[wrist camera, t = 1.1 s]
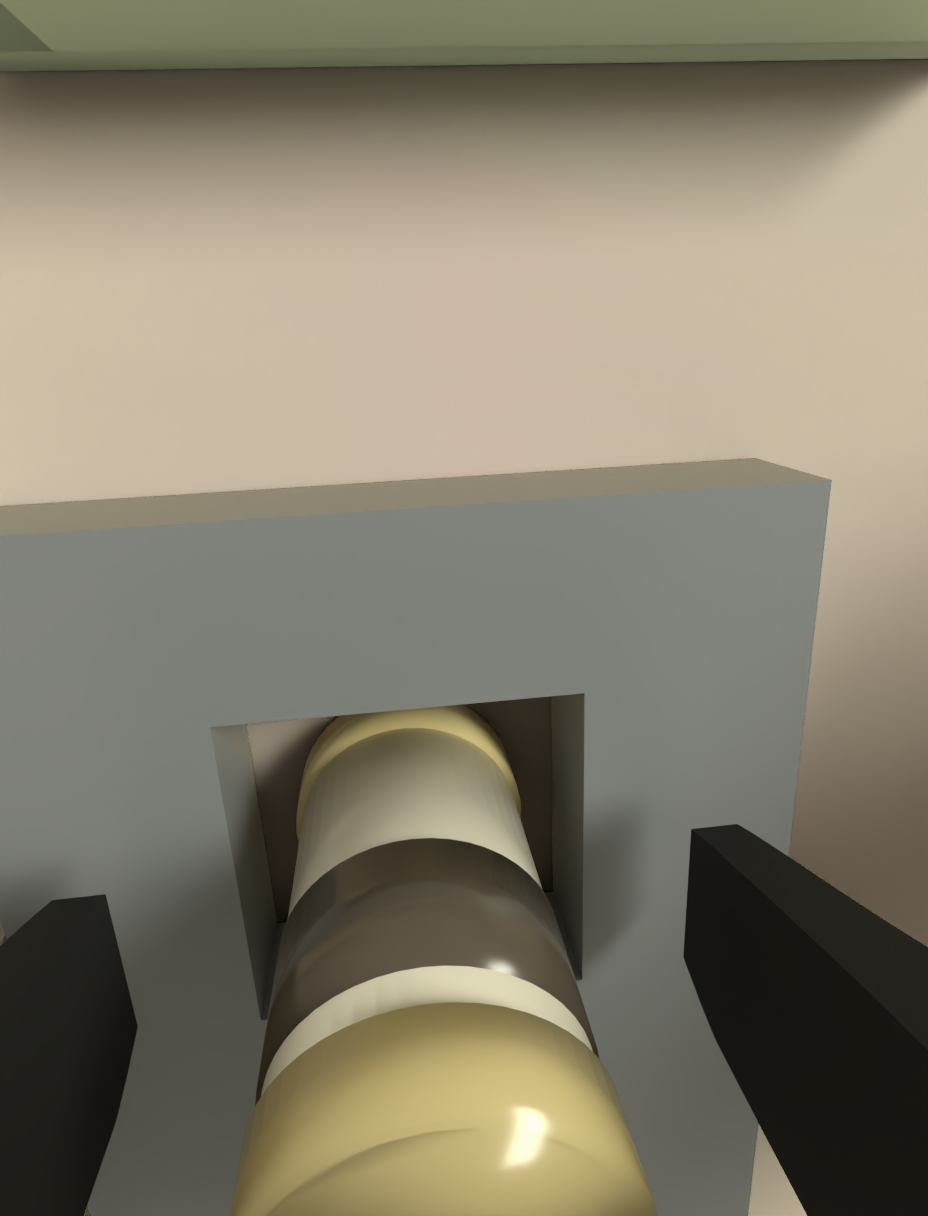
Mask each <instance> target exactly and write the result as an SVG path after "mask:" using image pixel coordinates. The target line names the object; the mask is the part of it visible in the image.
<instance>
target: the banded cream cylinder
mask: <svg viewBox="0 0 928 1216" xmlns="http://www.w3.org/2000/svg"><path fill="white" fill-rule="evenodd" d="M296 830H297V838H298V842H299V847H298V854H297V860H296V867H295V874H294V880H293V887H292V894H291V900H290V907H289V913H288V920H287V922H286V924H285V927H284V929H283V932H282V936H281V940H280V944H279V950H278V956H277V962H276V969H275V975H274V981H273V988H272V994H271V1000H270V1007H269V1013H268V1019H267V1026H266V1032H265V1038H264V1045H263V1051H262V1057H261V1064H260V1070H259V1076H258V1083H257V1089H256V1100H255V1108H254V1110H253V1112H252V1114H251V1116H250V1119H249V1121H248V1123H247V1126H246V1130H245V1134H244V1137H243V1141H242V1146H241V1152H240V1158H239V1164H238V1170H237V1176H236V1182H235V1188H234V1194H233V1200H232V1206H231V1212H230V1216H657V1212H656V1208H655V1205H654V1202H653V1199H652V1196H651V1193H650V1190H649V1187H648V1184H647V1181H646V1178H645V1175H644V1172H643V1169H642V1166H641V1163H640V1160H639V1157H638V1153H637V1150H636V1147H635V1144H634V1141H633V1138H632V1135H631V1132H630V1129H629V1126H628V1123H627V1120H626V1117H625V1114H624V1111H623V1108H622V1105H621V1102H620V1099H619V1096H618V1093H617V1090H616V1087H615V1085H614V1083H613V1081H612V1078H611V1076H610V1074H609V1072H608V1071H607V1069H606V1068H605V1067H604V1065H603V1064H602V1062H601V1061H600V1058H599V1054H598V1050H597V1046H596V1042H595V1039H594V1036H593V1033H592V1030H591V1027H590V1023H589V1020H588V1017H587V1014H586V1011H585V1008H584V1005H583V1002H582V998H581V995H580V992H579V989H578V986H577V983H576V980H575V977H574V973H573V970H572V967H571V964H570V961H569V958H568V955H567V952H566V948H565V945H564V942H563V939H562V936H561V933H560V930H559V927H558V923H557V920H556V917H555V914H554V911H553V909H552V907H551V904H550V902H549V900H548V898H547V896H546V895H545V893H544V892H543V890H542V887H541V884H540V880H539V877H538V874H537V871H536V868H535V864H534V861H533V858H532V855H531V852H530V848H529V845H528V842H527V839H526V836H525V832H524V829H523V826H522V823H521V801H520V796H519V792H518V788H517V785H516V782H515V779H514V775H513V772H512V769H511V766H510V763H509V760H508V757H507V754H506V752H505V749H504V747H503V745H502V742H501V741H500V739H499V737H498V736H497V734H496V733H495V731H494V730H493V729H492V728H491V726H490V725H489V724H488V723H487V722H486V721H485V720H484V719H483V718H482V717H481V716H479V715H478V714H477V713H476V712H474V711H473V710H471V709H470V708H468V707H467V706H465V705H463V704H461V705H450V706H439V707H428V708H417V709H406V710H395V711H384V712H373V713H363V714H352V715H341V716H339V717H337V718H336V719H335V720H334V721H333V722H332V723H331V724H330V725H329V726H328V727H327V728H326V729H325V730H324V731H323V732H322V734H321V735H320V736H319V737H318V739H317V740H316V742H315V744H314V745H313V747H312V749H311V751H310V753H309V756H308V758H307V760H306V764H305V768H304V772H303V777H302V783H301V789H300V795H299V801H298V808H297V817H296Z"/></svg>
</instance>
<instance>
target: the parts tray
mask: <svg viewBox="0 0 928 1216" xmlns="http://www.w3.org/2000/svg"><path fill="white" fill-rule="evenodd" d="M861 59H928V0H0V71H2V72H3V71H74V70H146V69H217V68H289V67H360V66H432V65H503V64H575V63H646V62H718V61H789V60H861Z"/></svg>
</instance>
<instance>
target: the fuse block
mask: <svg viewBox="0 0 928 1216" xmlns="http://www.w3.org/2000/svg"><path fill="white" fill-rule="evenodd" d="M830 489H831V480H829V479H826V478H822V477H819V476H815V475H812V474H808V473H805V472H801V471H798V470H794V469H791V468H787V467H784V466H780V465H777V464H773V463H770V462H766V461H763V460H760V459H756V458H751V459H735V460H719V461H703V462H688V463H672V464H656V465H641V466H625V467H609V468H593V469H578V470H562V471H546V472H531V473H515V474H499V475H483V476H468V477H452V478H436V479H420V480H405V481H389V482H373V483H358V484H342V485H326V486H310V487H295V488H279V489H263V490H247V491H232V492H216V493H200V494H184V495H169V496H153V497H137V498H122V499H106V500H90V501H74V502H59V503H43V504H27V505H12V506H0V920H1V923H2V927H3V930H4V933H5V937H6V940H7V939H8V938H9V937H11V936H12V935H13V934H14V933H15V932H16V931H17V930H18V929H19V928H21V927H22V926H23V925H24V924H25V923H26V922H27V921H28V920H29V919H31V918H32V917H33V916H34V915H35V914H36V913H37V912H39V911H40V910H41V909H42V908H43V907H45V906H46V905H47V904H48V903H49V902H51V901H52V900H58V899H67V898H76V897H85V896H94V895H103V894H106V898H107V902H108V906H109V910H110V914H111V919H112V923H113V927H114V931H115V935H116V939H117V943H118V947H119V951H120V956H121V960H122V964H123V968H124V972H125V976H126V980H127V984H128V988H129V993H130V997H131V1001H132V1005H133V1009H134V1013H135V1017H136V1021H137V1025H138V1028H137V1033H136V1037H135V1042H134V1047H133V1051H132V1056H131V1060H130V1065H129V1070H128V1074H127V1079H126V1083H125V1087H124V1091H123V1095H122V1099H121V1103H120V1108H119V1112H118V1116H117V1120H116V1123H115V1126H114V1129H113V1132H112V1135H111V1138H110V1141H109V1144H108V1147H107V1150H106V1152H105V1155H104V1158H103V1161H102V1164H101V1167H100V1170H99V1173H98V1176H97V1178H96V1181H95V1184H94V1187H93V1190H92V1193H91V1196H90V1199H89V1201H88V1204H87V1207H88V1211H89V1214H90V1216H230V1212H231V1206H232V1200H233V1194H234V1188H235V1182H236V1176H237V1170H238V1164H239V1158H240V1152H241V1146H242V1141H243V1137H244V1134H245V1130H246V1126H247V1123H248V1121H249V1119H250V1116H251V1114H252V1112H253V1110H254V1108H255V1100H256V1089H257V1083H258V1076H259V1070H260V1064H261V1057H262V1051H263V1045H264V1038H265V1032H266V1026H267V1019H268V1013H269V1007H270V1000H271V994H272V988H273V981H274V975H275V969H276V962H277V956H278V950H279V944H280V940H281V936H282V932H283V929H284V927H285V924H286V922H282V923H277V918H276V912H275V906H274V899H273V893H272V886H271V880H270V873H269V867H268V861H267V854H266V848H265V841H264V835H263V828H262V822H261V816H260V809H259V803H258V796H257V790H256V783H255V777H254V771H253V764H252V758H251V751H250V745H249V738H248V732H247V726H246V724H253V723H264V722H275V721H286V720H297V719H308V718H319V717H330V716H341V715H352V714H363V713H373V712H384V711H395V710H406V709H417V708H428V707H439V706H450V705H461V704H472V703H483V702H494V701H505V700H516V699H527V698H538V697H549V696H552V816H553V891H552V892H544V893H545V895H546V896H547V898H548V900H549V902H550V904H551V907H552V909H553V911H554V914H555V917H556V920H557V923H558V927H559V930H560V933H561V936H562V939H563V942H564V945H565V948H566V952H567V955H568V958H569V961H570V964H571V967H572V970H573V973H574V977H575V980H576V983H577V986H578V989H579V992H580V995H581V998H582V1002H583V1005H584V1008H585V1011H586V1014H587V1017H588V1020H589V1023H590V1027H591V1030H592V1033H593V1036H594V1039H595V1042H596V1046H597V1050H598V1054H599V1058H600V1061H601V1062H602V1064H603V1065H604V1067H605V1068H606V1069H607V1071H608V1072H609V1074H610V1076H611V1078H612V1081H613V1083H614V1085H615V1087H616V1090H617V1093H618V1096H619V1099H620V1102H621V1105H622V1108H623V1111H624V1114H625V1117H626V1120H627V1123H628V1126H629V1129H630V1132H631V1135H632V1138H633V1141H634V1144H635V1147H636V1150H637V1153H638V1157H639V1160H640V1163H641V1166H642V1169H643V1172H644V1175H645V1178H646V1181H647V1184H648V1187H649V1190H650V1193H651V1196H652V1199H653V1202H654V1205H655V1208H656V1212H657V1216H748V1209H749V1200H750V1191H751V1183H752V1174H753V1165H754V1156H755V1147H756V1139H757V1130H758V1121H757V1119H756V1117H755V1115H754V1113H753V1111H752V1109H751V1108H750V1106H749V1104H748V1102H747V1100H746V1098H745V1096H744V1094H743V1092H742V1090H741V1088H740V1086H739V1085H738V1083H737V1081H736V1079H735V1077H734V1075H733V1073H732V1071H731V1069H730V1067H729V1065H728V1063H727V1061H726V1059H725V1058H724V1056H723V1054H722V1052H721V1050H720V1048H719V1046H718V1044H717V1042H716V1040H715V1038H714V1035H713V1033H712V1030H711V1028H710V1026H709V1023H708V1021H707V1018H706V1016H705V1013H704V1011H703V1008H702V1006H701V1003H700V1001H699V998H698V995H697V993H696V990H695V987H694V984H693V982H692V979H691V976H690V974H689V971H688V968H687V966H686V963H685V960H684V958H683V954H684V938H685V922H686V906H687V890H688V874H689V858H690V842H691V829H696V828H705V827H714V826H723V825H732V824H738V825H740V826H742V827H743V828H745V829H747V830H748V831H750V832H752V833H753V834H755V835H756V836H758V837H759V838H761V839H762V840H764V841H765V842H767V843H769V844H770V845H772V846H773V847H775V848H776V849H778V850H779V851H781V852H782V853H784V854H785V855H787V856H788V857H789V849H790V840H791V831H792V822H793V814H794V805H795V796H796V787H797V778H798V770H799V761H800V752H801V743H802V735H803V726H804V717H805V708H806V699H807V691H808V682H809V673H810V664H811V656H812V647H813V638H814V629H815V620H816V612H817V603H818V594H819V585H820V576H821V568H822V559H823V550H824V541H825V533H826V524H827V515H828V506H829V497H830Z"/></svg>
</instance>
